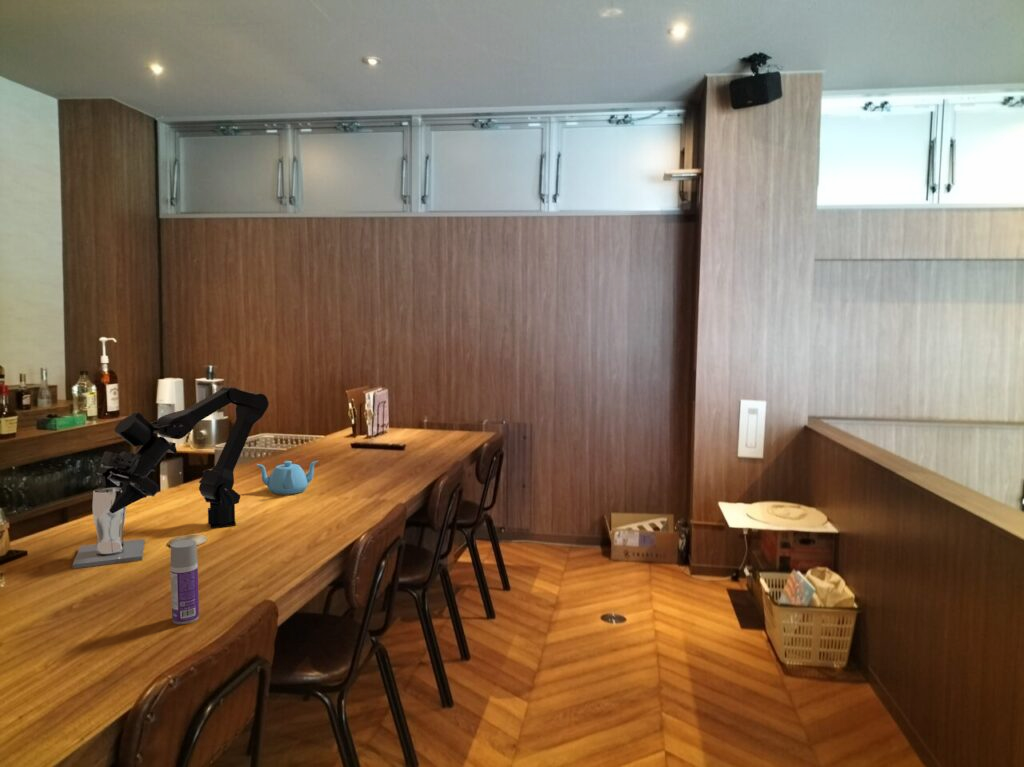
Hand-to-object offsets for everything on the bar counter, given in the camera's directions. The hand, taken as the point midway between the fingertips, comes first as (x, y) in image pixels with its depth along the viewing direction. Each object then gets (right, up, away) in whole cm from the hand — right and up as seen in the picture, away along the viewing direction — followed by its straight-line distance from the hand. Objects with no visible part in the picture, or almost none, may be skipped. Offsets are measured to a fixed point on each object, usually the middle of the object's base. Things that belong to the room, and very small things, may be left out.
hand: (103, 510), depth 161 cm
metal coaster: (+14, -11, +12) cm, 22 cm away
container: (+35, -15, -32) cm, 50 cm away
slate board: (0, -11, +2) cm, 12 cm away
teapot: (+23, -6, +65) cm, 69 cm away
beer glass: (+1, -10, +2) cm, 11 cm away
